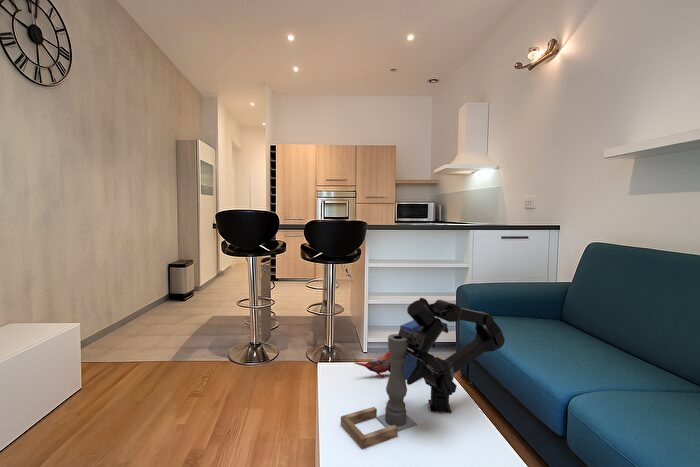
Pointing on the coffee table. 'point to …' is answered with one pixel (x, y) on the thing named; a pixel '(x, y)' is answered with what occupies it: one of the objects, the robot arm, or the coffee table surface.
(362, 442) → the wooden u-shaped frame
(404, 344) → the candle holder
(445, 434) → the coffee table surface
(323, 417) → the coffee table surface
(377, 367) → the decorative bird figurine
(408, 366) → the electronic device
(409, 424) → the mat
